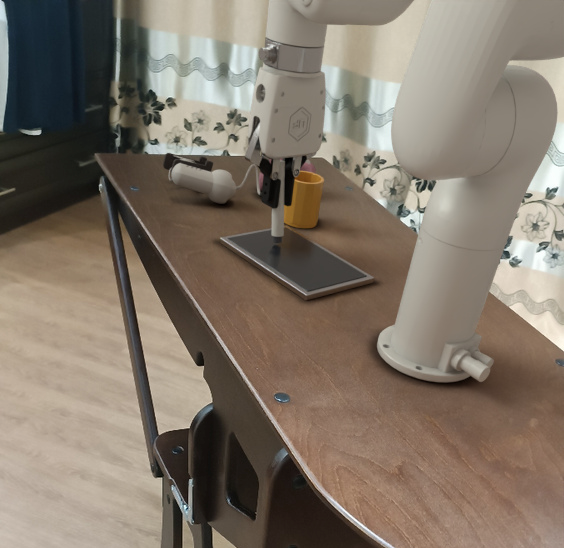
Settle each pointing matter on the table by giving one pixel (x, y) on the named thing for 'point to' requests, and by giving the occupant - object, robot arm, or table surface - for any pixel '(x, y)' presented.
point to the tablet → (297, 262)
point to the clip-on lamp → (203, 177)
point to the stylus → (279, 209)
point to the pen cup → (305, 201)
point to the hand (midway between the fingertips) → (276, 203)
